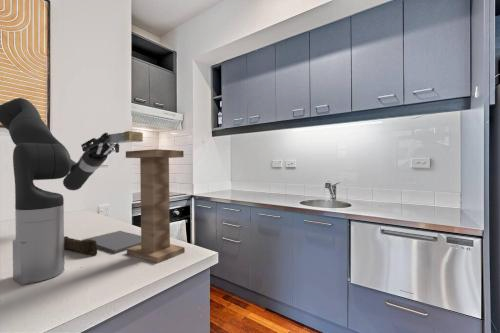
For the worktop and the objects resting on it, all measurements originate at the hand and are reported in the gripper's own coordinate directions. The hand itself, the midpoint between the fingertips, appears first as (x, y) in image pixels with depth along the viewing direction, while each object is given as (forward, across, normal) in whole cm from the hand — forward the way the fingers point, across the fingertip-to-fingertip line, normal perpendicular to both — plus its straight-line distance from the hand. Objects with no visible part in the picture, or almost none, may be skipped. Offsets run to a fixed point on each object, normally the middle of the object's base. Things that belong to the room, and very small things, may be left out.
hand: (112, 135), depth 89 cm
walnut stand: (+2, 0, +46) cm, 46 cm away
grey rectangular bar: (+3, 0, +5) cm, 6 cm away
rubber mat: (-16, 0, +35) cm, 39 cm away
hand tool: (-18, -11, +35) cm, 41 cm away
